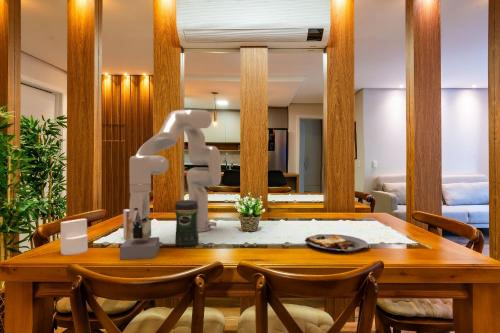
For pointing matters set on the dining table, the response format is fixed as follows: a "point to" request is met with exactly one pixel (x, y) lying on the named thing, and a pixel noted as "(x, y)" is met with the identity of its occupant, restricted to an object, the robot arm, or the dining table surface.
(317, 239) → the food plate
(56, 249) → the dining table surface
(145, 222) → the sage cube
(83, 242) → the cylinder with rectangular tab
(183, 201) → the coffee jar
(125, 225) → the small box
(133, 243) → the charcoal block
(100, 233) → the dining table surface
